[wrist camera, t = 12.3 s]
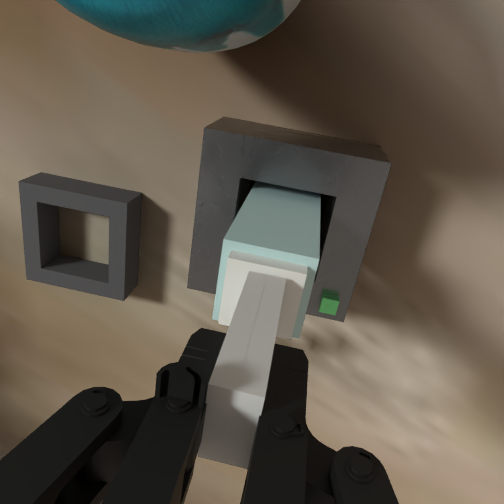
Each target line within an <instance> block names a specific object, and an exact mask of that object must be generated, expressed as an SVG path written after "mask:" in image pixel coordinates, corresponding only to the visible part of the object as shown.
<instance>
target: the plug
mask: <svg viewBox="0 0 504 504" xmlns="http://www.w3.org/2000/svg"><path fill="white" fill-rule="evenodd" d="M320 207H321V194H320V193H315V192H310V191H305V190H300V189H295V188H290V187H285V186H280V185H275V184H270V183H265V182H260V181H256V182H255V184H254V185H253V187H252V189H251V191H250V193H249V194H248V196H247V198H246V200H245V201H244V203H243V205H242V207H241V209H240V210H239V212H238V214H237V216H236V218H235V219H234V221H233V223H232V225H231V226H230V228H229V230H228V232H227V234H226V235H225V237H224V239H223V246H222V253H221V260H220V267H219V274H218V281H217V288H216V295H215V302H214V310H213V317H212V319H214V320H218V324H222V325H226V326H229V325H230V323H231V320H232V317H233V314H234V311H235V309H236V306H237V303H238V300H239V298H240V295H241V292H242V289H243V287H244V284H245V281H246V278H247V275H248V273H249V271H253V272H257V273H262V274H267V275H271V276H276V277H280V278H285V279H286V283H285V288H284V294H283V299H282V305H281V311H280V316H279V322H278V328H277V333H276V337H280V338H284V339H289V340H291V338H292V337H294V338H300V334H301V330H302V326H303V322H304V318H305V314H306V310H307V306H308V303H309V299H310V295H311V291H312V287H313V283H314V279H315V275H316V271H317V267H318V263H319V259H320Z"/></svg>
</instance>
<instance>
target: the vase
mask: <svg viewBox="0 0 504 504" xmlns="http://www.w3.org/2000/svg"><path fill="white" fill-rule="evenodd" d="M56 1H57V2H58V3H60V4H61V5H62V6H64V7H65V8H66V9H67V10H69V11H70V12H72V13H73V14H75V15H77V16H79V17H80V18H82V19H84V20H86V21H88V22H90V23H91V24H93V25H95V26H97V27H99V28H100V29H102V30H105V31H107V32H109V33H111V34H114V35H117V36H120V37H122V38H125V39H128V40H131V41H134V42H137V43H140V44H143V45H147V46H152V47H157V48H163V49H169V50H174V51H182V52H220V51H225V50H230V49H235V48H239V47H242V46H244V45H247V44H249V43H252V42H255V41H257V40H258V39H260V38H262V37H264V36H265V35H267V34H269V33H270V32H272V31H273V30H274V29H275V28H276V27H278V26H279V25H280V24H281V23H283V22H284V21H285V20H286V18H287V17H288V16H289V15H290V14H291V13H292V12H293V11H294V9H295V8H296V7H297V5H298V4H299V2H300V1H301V0H56Z"/></svg>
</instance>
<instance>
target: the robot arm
mask: <svg viewBox="0 0 504 504" xmlns="http://www.w3.org/2000/svg"><path fill="white" fill-rule="evenodd" d="M285 283H286V279H285V278H280V277H276V276H271V275H267V274H262V273H257V272H253V271H249V273H248V275H247V278H246V281H245V284H244V287H243V289H242V292H241V295H240V298H239V300H238V303H237V306H236V309H235V311H234V314H233V317H232V320H231V323H230V325H229V328H228V331H227V334H226V333H222V332H217V331H213V330H209V329H204V328H201V329H199V330H198V331H196V332H195V333H194V334H192V335H191V337H190V339H189V341H188V343H187V345H186V347H185V349H184V351H183V353H182V356H181V357H180V359H179V361H178V362H176V363H170V364H168V365H166V366H164V367H162V368H161V369H160V370H159V371H158V373H157V377H156V390H155V396H154V397H153V398H150V399H146V400H139V401H122V399H121V397H120V394H118V393H117V392H116V391H114V390H113V389H110V388H106V387H93V388H89V389H86V390H83V391H82V392H80V393H78V394H77V395H75V396H74V397H73V398H72V399H71V400H69V401H68V402H67V403H66V404H65V405H64V406H63V407H61V408H60V409H59V410H58V411H57V412H56V413H54V414H53V415H52V416H51V417H50V418H49V419H47V420H46V421H45V422H44V423H43V424H42V425H40V426H39V427H38V428H37V429H36V430H35V431H34V432H32V433H31V434H30V435H29V436H28V437H27V438H25V439H24V440H23V441H22V442H21V443H20V444H18V445H17V446H16V447H15V448H14V449H13V450H12V451H10V452H9V453H8V454H7V455H6V456H5V457H3V458H2V459H1V460H0V504H100V503H101V502H102V503H101V504H184V501H185V498H186V494H187V491H188V488H189V485H190V482H191V479H192V475H193V470H194V463H195V459H196V456H197V453H198V457H202V458H206V459H210V460H214V461H218V462H222V463H225V464H229V465H233V466H237V467H241V468H245V469H248V471H247V476H246V480H245V485H244V489H243V494H242V498H241V502H240V504H399V503H398V500H397V498H396V495H395V493H394V490H393V488H392V485H391V483H390V480H389V478H388V475H387V473H386V470H385V469H384V467H383V465H382V464H381V462H380V461H379V460H378V459H377V458H376V457H375V456H374V455H373V454H372V453H370V452H368V451H366V450H364V449H363V448H358V447H354V446H350V447H343V448H342V449H340V450H339V451H335V450H333V449H331V448H329V447H327V446H326V445H324V444H322V443H321V442H319V441H318V440H317V439H316V438H315V437H314V436H313V435H312V434H311V432H310V431H309V429H308V427H307V424H306V418H305V416H306V397H307V379H308V375H307V374H308V359H307V357H306V355H305V353H304V351H303V350H301V349H297V348H292V347H288V346H283V345H279V344H275V339H276V333H277V328H278V322H279V316H280V311H281V305H282V299H283V294H284V288H285ZM102 500H103V501H102Z"/></svg>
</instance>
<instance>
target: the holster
mask: <svg viewBox="0 0 504 504" xmlns="http://www.w3.org/2000/svg"><path fill="white" fill-rule="evenodd" d="M19 192H20V204H21V216H22V228H23V241H24V253H25V265H26V278H27V279H28V280H32V281H37V282H41V283H46V284H50V285H55V286H59V287H64V288H68V289H73V290H77V291H82V292H86V293H91V294H95V295H100V296H104V297H109V298H113V299H118V300H122V301H124V300H125V299H126V298H127V297H128V295H129V294H130V293H131V292H132V290H133V289H134V288H135V287H136V286H137V280H138V259H139V238H140V217H141V196H142V193H140V192H135V191H130V190H125V189H120V188H115V187H110V186H105V185H100V184H95V183H90V182H86V181H81V180H76V179H71V178H66V177H61V176H56V175H51V174H46V173H38V174H36V175H33V176H31V177H28V178H26V179H23V180H21V181H19ZM58 206H60V207H65V208H69V209H74V210H79V211H84V212H89V213H93V214H98V215H103V216H108V217H109V265H106V264H101V263H97V262H92V261H88V260H83V259H78V258H74V257H69V256H65V255H60V244H59V220H58Z"/></svg>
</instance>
